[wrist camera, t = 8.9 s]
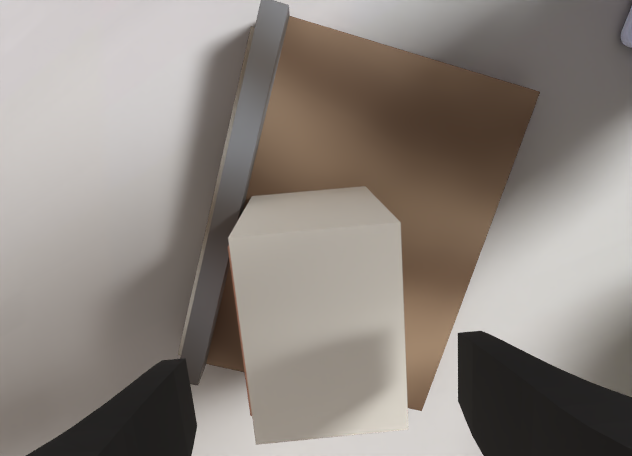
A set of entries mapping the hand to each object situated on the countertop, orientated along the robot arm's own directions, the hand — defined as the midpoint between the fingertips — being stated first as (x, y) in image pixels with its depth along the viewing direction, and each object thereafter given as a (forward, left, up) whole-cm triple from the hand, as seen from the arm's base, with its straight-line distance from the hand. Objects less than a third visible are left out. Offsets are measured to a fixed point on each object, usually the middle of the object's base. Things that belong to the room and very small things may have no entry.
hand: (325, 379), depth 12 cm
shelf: (-2, +1, -10) cm, 11 cm away
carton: (0, 0, -9) cm, 9 cm away
